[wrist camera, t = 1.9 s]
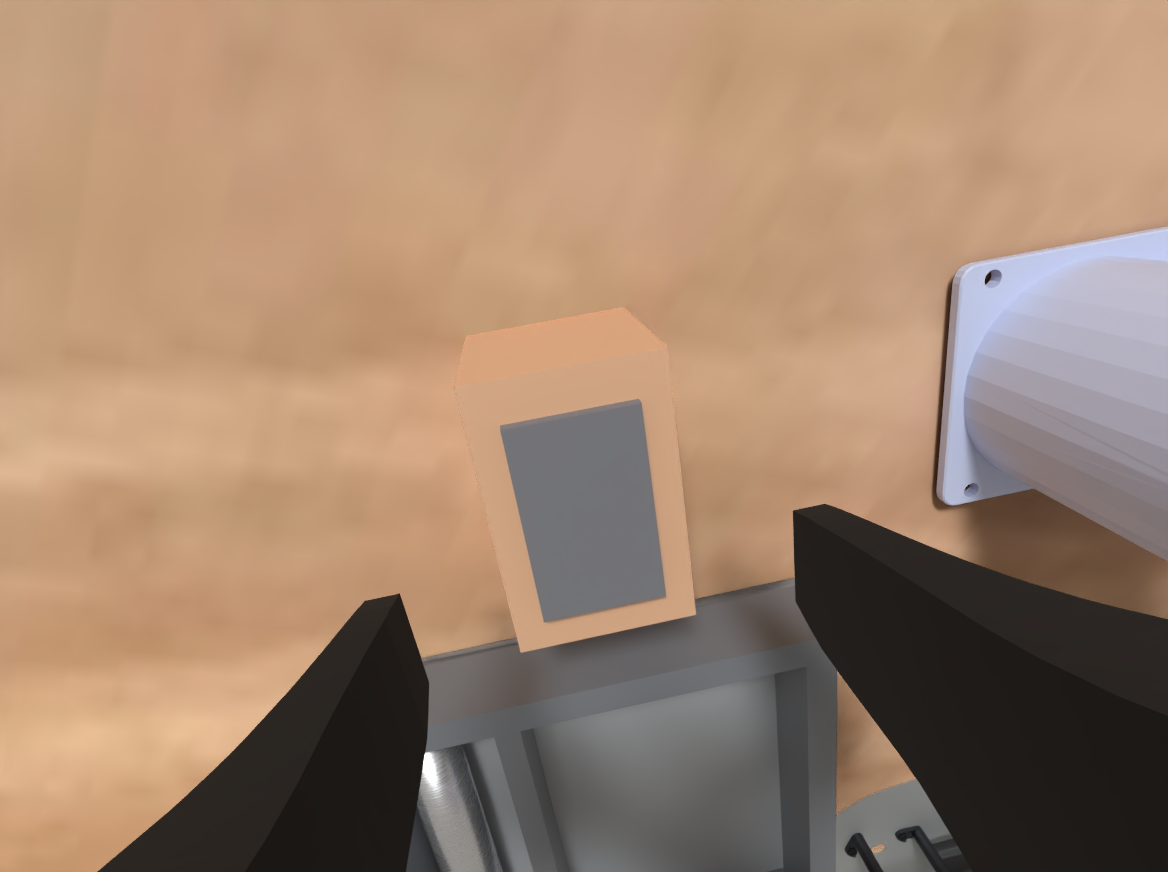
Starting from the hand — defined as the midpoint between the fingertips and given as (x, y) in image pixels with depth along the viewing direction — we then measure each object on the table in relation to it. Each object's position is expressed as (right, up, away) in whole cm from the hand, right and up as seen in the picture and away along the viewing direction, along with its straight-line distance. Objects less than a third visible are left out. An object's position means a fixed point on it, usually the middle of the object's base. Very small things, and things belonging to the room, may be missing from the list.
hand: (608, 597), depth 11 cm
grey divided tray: (0, -11, +13) cm, 17 cm away
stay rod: (-4, -12, +12) cm, 18 cm away
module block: (-1, +3, +8) cm, 8 cm away
